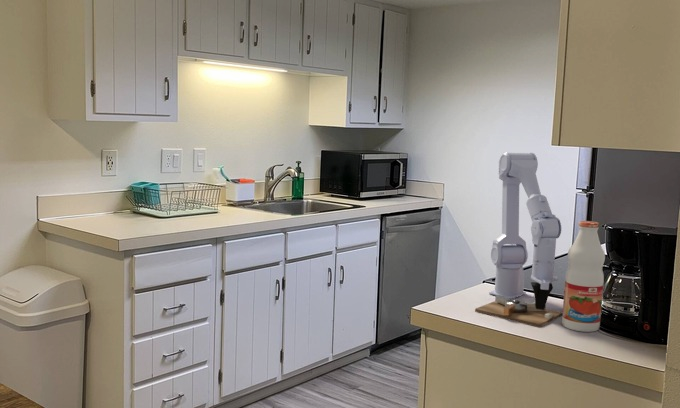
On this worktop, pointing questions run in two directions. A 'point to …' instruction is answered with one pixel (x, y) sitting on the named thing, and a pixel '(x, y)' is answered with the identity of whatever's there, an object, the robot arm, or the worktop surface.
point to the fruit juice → (584, 280)
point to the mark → (548, 315)
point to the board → (519, 314)
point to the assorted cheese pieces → (515, 305)
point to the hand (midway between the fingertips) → (540, 308)
